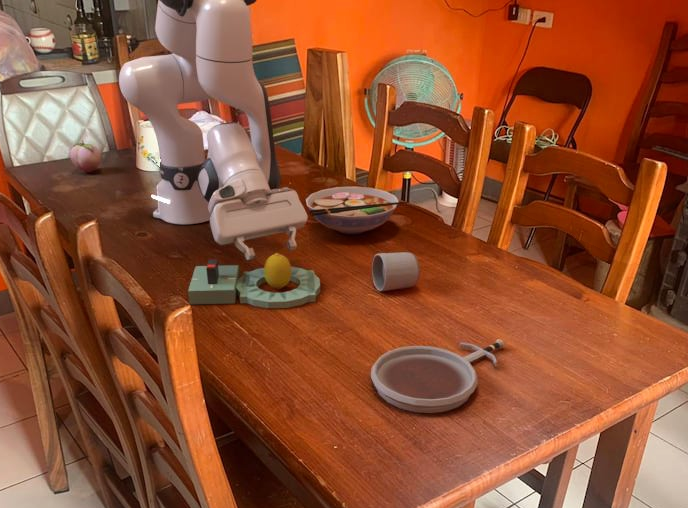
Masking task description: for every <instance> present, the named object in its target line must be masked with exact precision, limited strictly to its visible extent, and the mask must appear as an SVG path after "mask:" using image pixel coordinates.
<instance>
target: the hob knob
mask: <svg viewBox="0 0 688 508" xmlns="http://www.w3.org/2000/svg"><path fill="white" fill-rule="evenodd" d="M206 266H207V268H206V270H207V279H208V284H217V281H218V277H219V269H218V266H219V261H218V259H208V261H207V265H206Z"/></svg>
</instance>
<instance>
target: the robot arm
mask: <svg viewBox="0 0 688 508" xmlns="http://www.w3.org/2000/svg"><path fill="white" fill-rule="evenodd" d="M257 1H258V0H157V7H156V8H157V9H156V16H155V25H154V29H155V30H154V31H155V35H156V37H157V39H158V41H159V43H160V44H161V45H162V46H163V47H164V48H165V49H166V50H168V51H169V52H170V53H169V54H163V55H162V54H161V55H153V56H151V55H150V56H142V57H139V58H135V59H133V60H130V61H126V62H124V64H123V65H122V67H121V68H120V71H119V75H118V84H119V89H120V92H121V94H122V96H123V97H124V99H125V100H126V101H127V102H128V103H129V104H130V105H131V106H133V107H134V108H136V109H137V110H139V111H140V112H141V113H142V114H143V115H144V116H145V117H146V118H147V119H148V121H149V122H150V125H151V126H152V128H153V130H154V132H155V136H156V141H157V146H158V151H159V152H158V153H159V157H160V159H161V162H160V167H159V166H157V167H158V169H159V173H160V178H161V180H160V181H159V182H158V184H157V185H156V195H155V194H151V198H152V199H154V200H157V208H156V209H155V210H154V211H153V212H152V216H153V218H156V219H161V220H162V221H164V222H166V223H169V224H174V225H194V224H200V223H205V222H209V226H210V229H211V230H210V231H211V233H212V236H213V239H214V241H215V242H216V243H217V244H218V245H220V246H223V245H228V244H232V243H234V246H235V248H237V249H238V250H239V251H240V252H241V253H243V255H244V257H245V259H246V260H247V261H249V260H253V259H255V257H256V253H255V252H254V248H253V247H248V246H247V245H246V243H245V241H247V240H252V239H256V238H257V239H258V238H262V237H266V236H272V235H275V234H280V233H284V232H285V233H286V236H288V237H289V239H288V240H287V241H286V243H285V246H286V248H287V251H294V250H296V249H297V248H298V245H297V242H296V234H297V230H300V229H302V228H304V227H305V225H306V224H307V222H308V219H309V217H308V214H307V211H306V210H305V207H304V205H303V204H302V202H301V200H300V197H299V194H298V192H297V191H296V190H295V189H293V188H289V187H288V186H284V187H281V183H282V178H281V177H282V176H281V172H280V168H279V163H278V160H277V155H276V154H277V153H276V146H275V138H274V137H275V136H274V130H273V121H272V120H273V119H272V113H271V112H272V111H271V106H270V101H269V96H268V92H267V90H266V89H267V88H266V87H265V85H264V83H262V82H261V81H259V80H258V78H257V76H256V74H255V70H254V65H253V34H252V24H251V17H250V11H249V8H248V6H251V5H253V4H255V3H256V2H257ZM211 99H214V100H216V101H218V102H220V103H221V104H224V105H226V106H229V107H232V108H235V109H238V110H240V111H242V112H244V113H245V115H246V117H247V120H248V127H249V134H250V137H249V135H248V133H247V131H246V130H245V129H244V127H243V126H242V124H240V123H238V122H235V121H231V122H222V123H219V124H216V125H214V126H212V127H211V128H210V129H209V130H208V131H207V133H206V141H207V147H208V148H207V149H208V156H207V160H206V159H205V153H204V150H205V144H204V134H203V131H202V128H201V127H200V126H199V125H198V124H197V123H196V122H195V121H193V120H190V119H188V118H186V117H183V116H181V114H180V112H179V107H178V105H183V104H184V105H185V104H192V103H199V102H200V103H201V102H205V101H207V100H211Z"/></svg>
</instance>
